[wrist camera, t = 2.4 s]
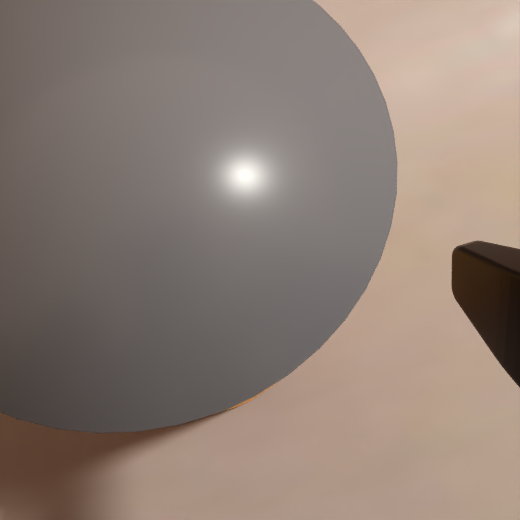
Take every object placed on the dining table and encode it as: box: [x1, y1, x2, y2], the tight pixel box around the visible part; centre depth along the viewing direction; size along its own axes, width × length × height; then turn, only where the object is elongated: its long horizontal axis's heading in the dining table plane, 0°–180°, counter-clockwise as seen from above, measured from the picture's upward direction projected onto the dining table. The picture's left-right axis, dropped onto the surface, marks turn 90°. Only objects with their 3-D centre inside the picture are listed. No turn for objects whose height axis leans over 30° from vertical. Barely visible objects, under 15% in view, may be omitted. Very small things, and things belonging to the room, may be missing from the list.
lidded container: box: [0, 0, 397, 433], centre depth 11 cm, size 5×5×13 cm
